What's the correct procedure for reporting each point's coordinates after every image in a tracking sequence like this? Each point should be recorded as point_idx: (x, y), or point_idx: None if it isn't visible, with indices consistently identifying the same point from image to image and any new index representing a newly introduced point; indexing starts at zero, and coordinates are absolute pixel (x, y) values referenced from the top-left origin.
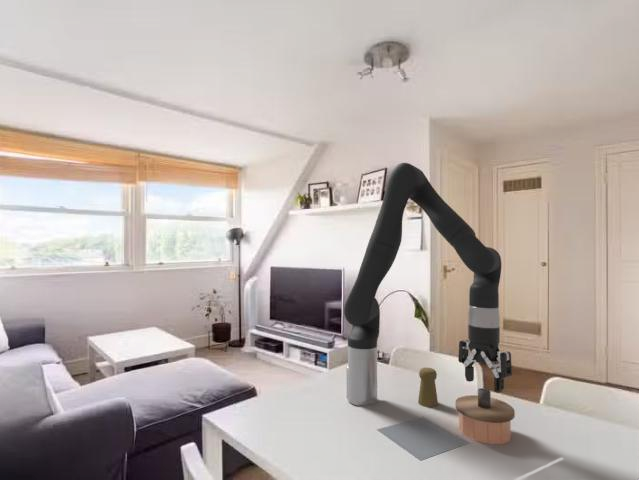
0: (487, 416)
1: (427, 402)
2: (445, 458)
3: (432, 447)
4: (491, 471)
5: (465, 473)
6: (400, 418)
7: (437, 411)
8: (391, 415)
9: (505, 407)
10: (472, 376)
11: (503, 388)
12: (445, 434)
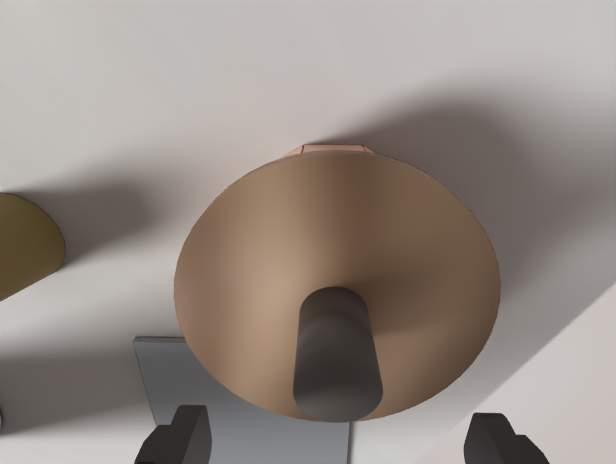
0: (420, 390)
1: (36, 280)
2: (364, 431)
3: (316, 436)
4: (476, 393)
5: (436, 438)
6: (115, 389)
7: (94, 251)
8: (86, 397)
9: (419, 231)
10: (193, 449)
11: (542, 459)
12: None
